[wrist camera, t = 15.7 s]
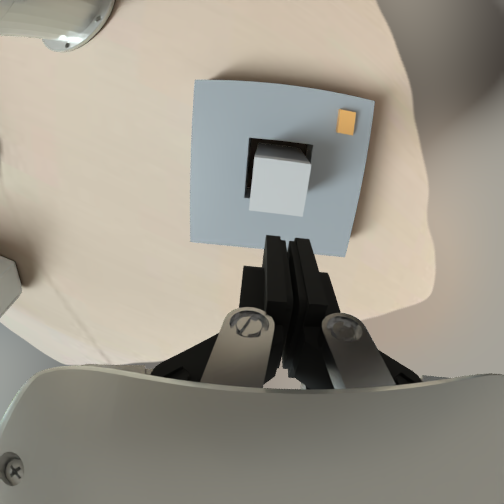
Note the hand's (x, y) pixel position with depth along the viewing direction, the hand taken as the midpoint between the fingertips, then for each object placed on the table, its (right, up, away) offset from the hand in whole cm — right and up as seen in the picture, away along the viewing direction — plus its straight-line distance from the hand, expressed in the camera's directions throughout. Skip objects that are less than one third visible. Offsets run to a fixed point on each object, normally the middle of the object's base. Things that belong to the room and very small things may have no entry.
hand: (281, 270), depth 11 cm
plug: (+2, +11, +21) cm, 23 cm away
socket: (+2, +11, +21) cm, 23 cm away
